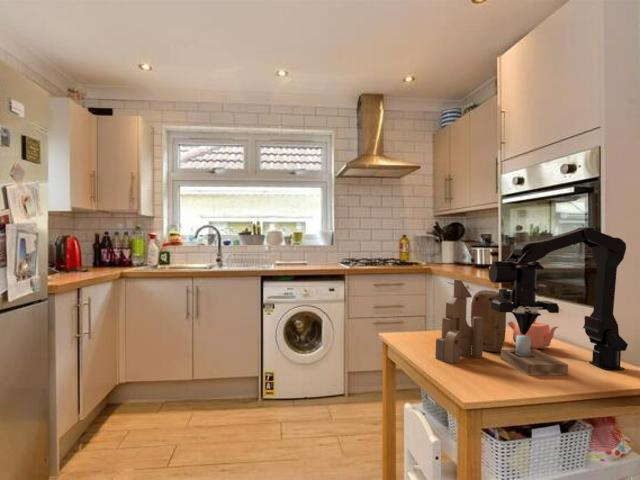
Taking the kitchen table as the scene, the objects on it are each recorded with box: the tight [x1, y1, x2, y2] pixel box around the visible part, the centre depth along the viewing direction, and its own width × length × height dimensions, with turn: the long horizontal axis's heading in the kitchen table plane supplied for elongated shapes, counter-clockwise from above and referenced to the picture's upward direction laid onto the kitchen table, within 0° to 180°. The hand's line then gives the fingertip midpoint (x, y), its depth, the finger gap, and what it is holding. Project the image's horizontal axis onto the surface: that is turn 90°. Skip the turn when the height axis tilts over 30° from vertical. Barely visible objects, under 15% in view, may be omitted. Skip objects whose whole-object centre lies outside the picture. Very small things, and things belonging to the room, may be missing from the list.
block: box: [470, 289, 507, 353], centre depth 134 cm, size 11×8×20 cm
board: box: [500, 349, 569, 376], centre depth 117 cm, size 12×14×3 cm
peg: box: [515, 335, 531, 357], centre depth 118 cm, size 4×4×8 cm
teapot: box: [507, 319, 559, 351], centre depth 138 cm, size 14×12×10 cm
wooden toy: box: [435, 278, 484, 365], centre depth 123 cm, size 16×7×25 cm, turn 122°
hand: (523, 334), depth 118 cm, fingers closed
